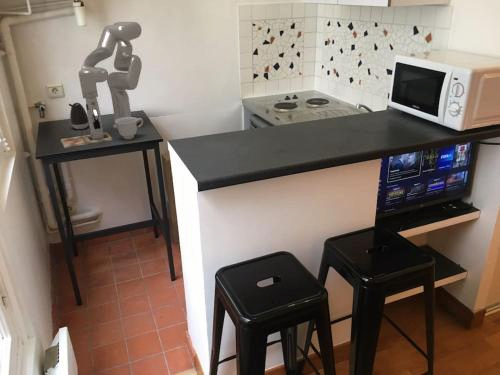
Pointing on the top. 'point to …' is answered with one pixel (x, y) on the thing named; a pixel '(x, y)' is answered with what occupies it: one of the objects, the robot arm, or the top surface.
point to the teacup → (128, 126)
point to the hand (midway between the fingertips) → (95, 126)
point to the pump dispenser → (78, 116)
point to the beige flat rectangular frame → (79, 140)
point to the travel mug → (95, 133)
